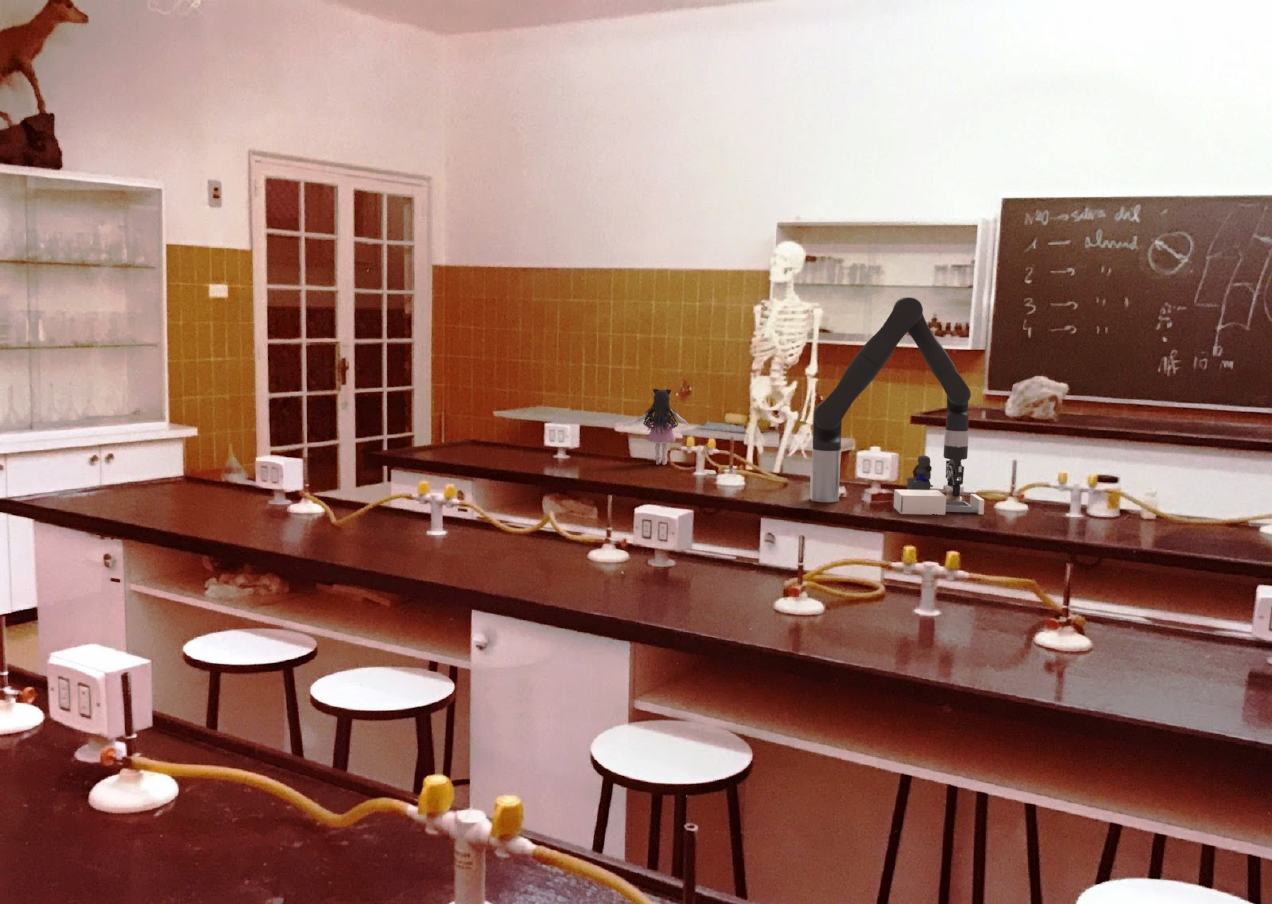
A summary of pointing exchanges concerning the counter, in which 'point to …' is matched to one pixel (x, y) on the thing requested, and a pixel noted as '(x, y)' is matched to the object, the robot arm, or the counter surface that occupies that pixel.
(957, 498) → the pedestal
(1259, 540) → the counter surface
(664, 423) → the figurine
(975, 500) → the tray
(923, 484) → the toy
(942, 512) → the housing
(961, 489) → the puck
